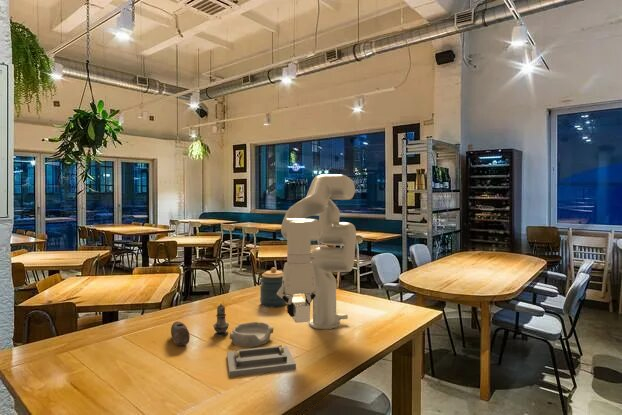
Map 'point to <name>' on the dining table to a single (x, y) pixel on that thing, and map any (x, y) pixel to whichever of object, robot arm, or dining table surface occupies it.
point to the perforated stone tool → (180, 333)
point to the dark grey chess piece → (221, 322)
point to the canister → (271, 288)
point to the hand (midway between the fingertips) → (298, 314)
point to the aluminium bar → (300, 310)
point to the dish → (251, 334)
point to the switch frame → (260, 360)
